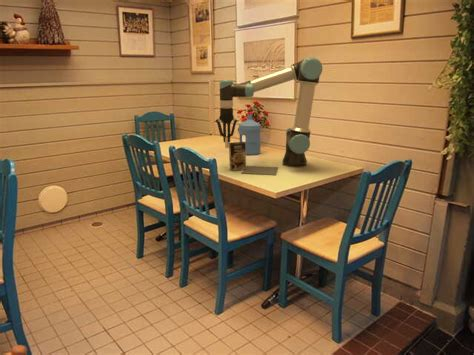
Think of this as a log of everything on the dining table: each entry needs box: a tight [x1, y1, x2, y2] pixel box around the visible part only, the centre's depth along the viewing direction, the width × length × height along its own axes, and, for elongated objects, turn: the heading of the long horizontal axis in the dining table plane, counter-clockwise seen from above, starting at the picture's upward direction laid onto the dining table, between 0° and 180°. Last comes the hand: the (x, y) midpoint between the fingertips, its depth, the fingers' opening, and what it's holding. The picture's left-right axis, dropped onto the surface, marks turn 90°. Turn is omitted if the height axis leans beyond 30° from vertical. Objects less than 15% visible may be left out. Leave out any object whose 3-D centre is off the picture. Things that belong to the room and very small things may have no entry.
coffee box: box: [228, 141, 247, 172], centre depth 227 cm, size 9×6×16 cm
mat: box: [241, 165, 279, 176], centre depth 227 cm, size 20×18×1 cm
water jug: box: [238, 113, 262, 156], centre depth 271 cm, size 16×16×28 cm
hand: (226, 147), depth 227 cm, fingers closed
